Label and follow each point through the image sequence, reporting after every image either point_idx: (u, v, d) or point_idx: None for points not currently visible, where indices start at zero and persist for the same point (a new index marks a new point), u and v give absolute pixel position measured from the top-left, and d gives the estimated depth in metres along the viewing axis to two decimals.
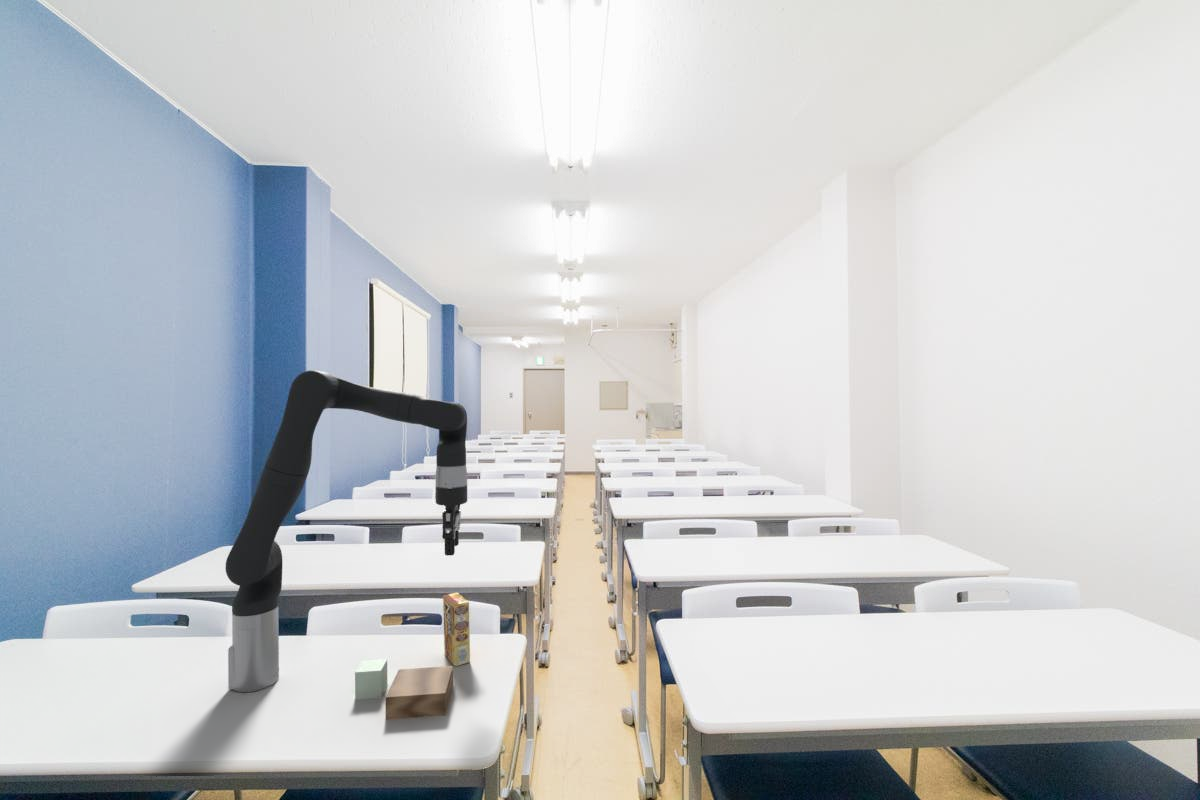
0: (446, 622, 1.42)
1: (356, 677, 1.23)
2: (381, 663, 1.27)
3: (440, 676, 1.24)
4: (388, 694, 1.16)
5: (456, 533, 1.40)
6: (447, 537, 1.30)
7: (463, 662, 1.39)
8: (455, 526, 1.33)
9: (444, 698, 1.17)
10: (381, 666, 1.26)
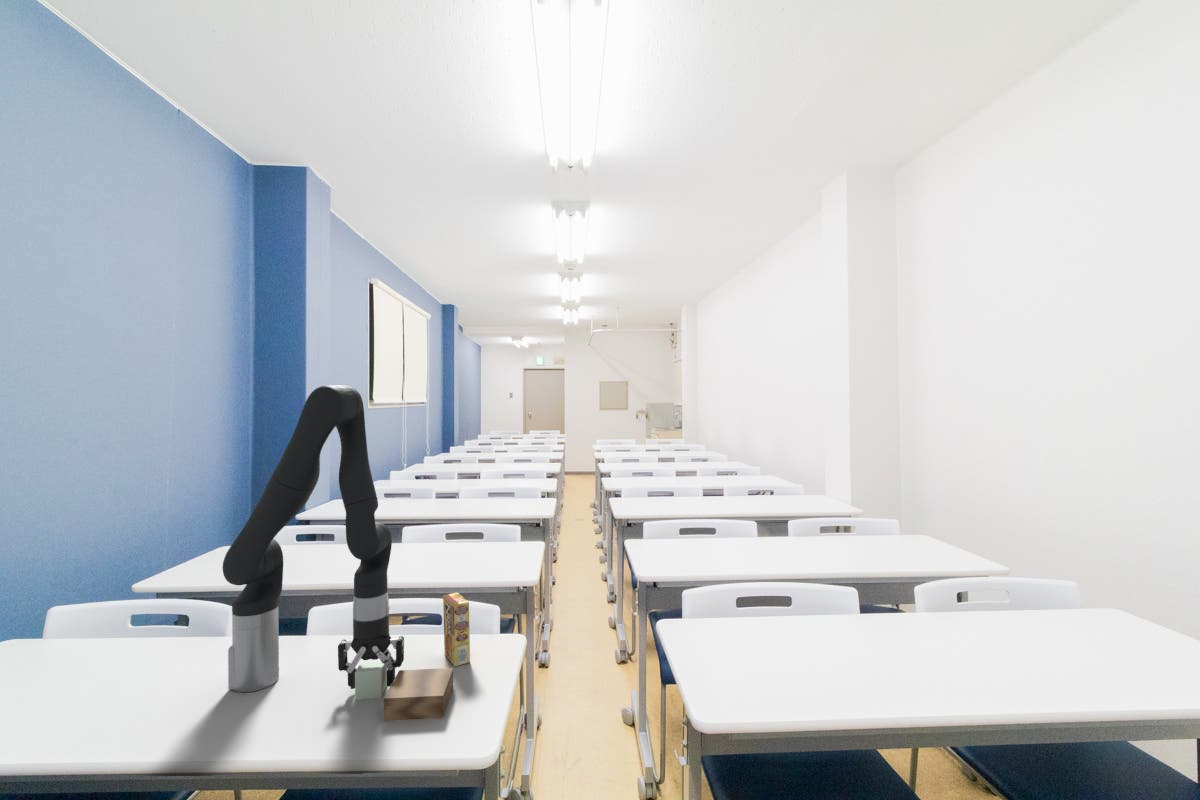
0: (446, 622, 1.42)
1: (356, 677, 1.23)
2: (381, 663, 1.27)
3: (439, 677, 1.23)
4: (386, 695, 1.16)
5: None
6: None
7: (463, 662, 1.39)
8: None
9: (442, 701, 1.16)
10: (381, 666, 1.26)
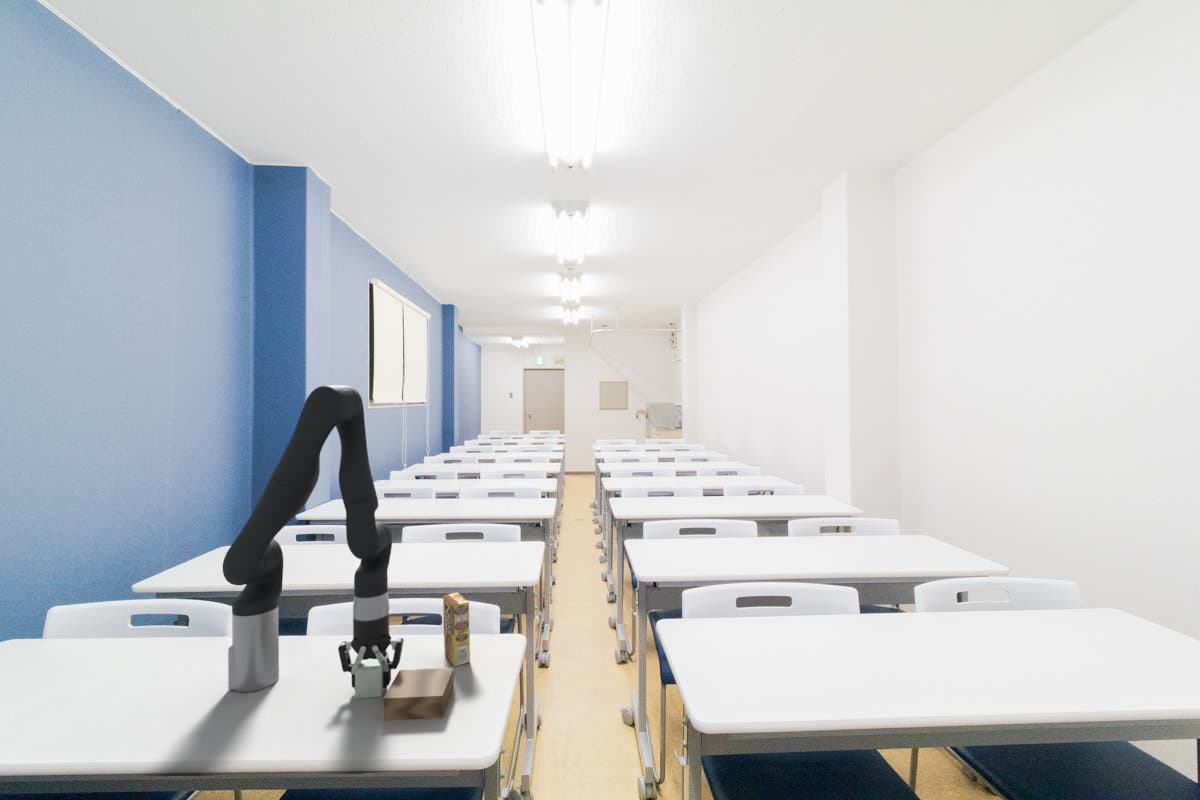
0: (446, 622, 1.42)
1: (356, 676, 1.23)
2: None
3: (439, 678, 1.23)
4: (386, 695, 1.16)
5: None
6: None
7: (463, 662, 1.39)
8: None
9: (441, 701, 1.16)
10: None
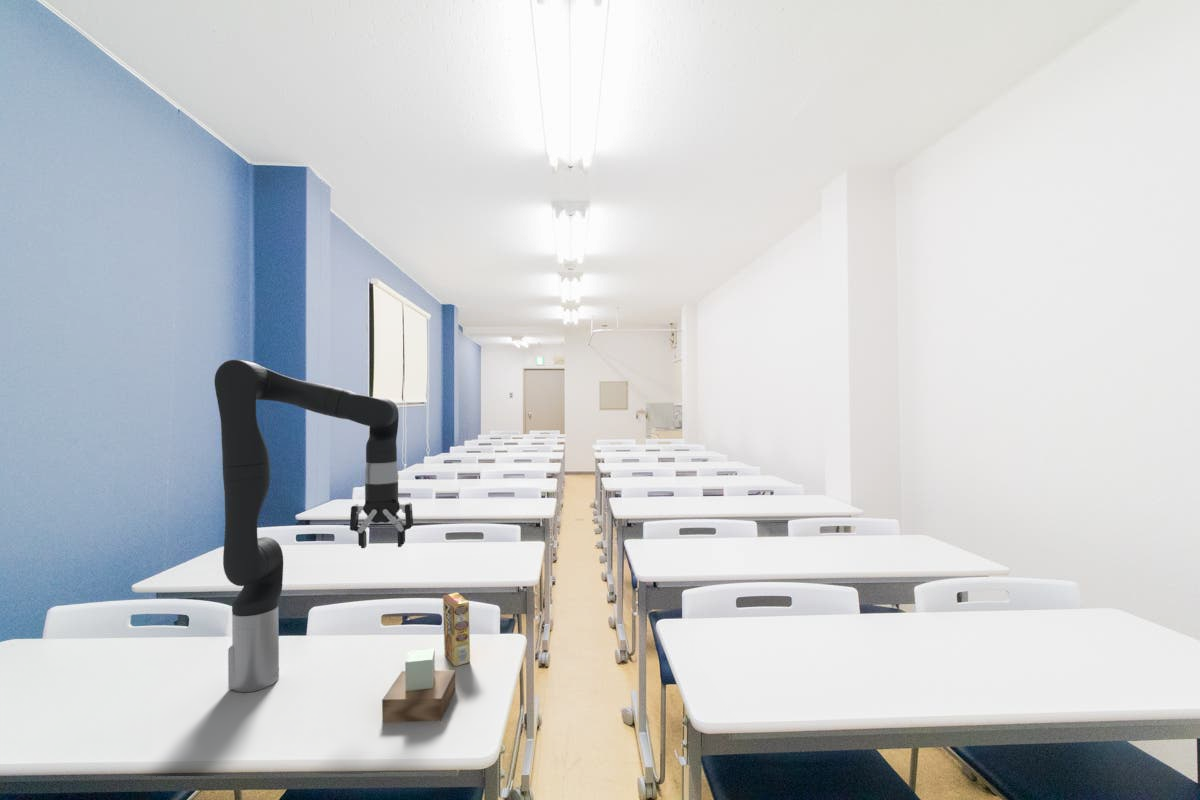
0: (446, 622, 1.42)
1: (406, 667, 1.18)
2: (430, 653, 1.22)
3: (440, 680, 1.22)
4: (385, 696, 1.15)
5: None
6: (411, 526, 1.37)
7: (463, 662, 1.39)
8: (399, 518, 1.38)
9: (440, 704, 1.15)
10: (431, 656, 1.20)
